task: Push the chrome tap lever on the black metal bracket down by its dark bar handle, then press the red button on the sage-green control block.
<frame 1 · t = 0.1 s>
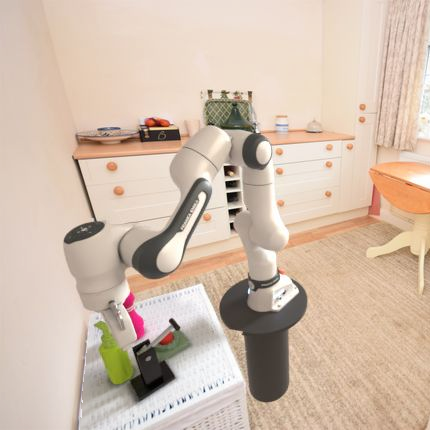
hand: (120, 336, 71), 26 cm above the counter, tool pointing down, fingers open, 8 cm apart
button block: (168, 347, 99), on the counter
pepper mill: (135, 335, 103), on the counter
tap lever: (158, 339, 85), point 14 cm above the counter, hinge at 25.0°
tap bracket: (153, 380, 88), on the counter
button: (166, 338, 97), point 4 cm above the counter, slide at 0.1 cm
soap dispenser: (121, 375, 90), on the counter
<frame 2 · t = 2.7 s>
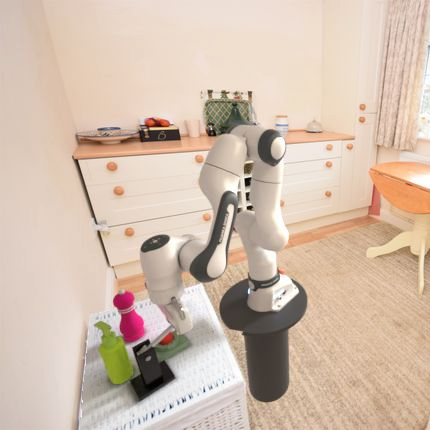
hand: (175, 326, 88), 15 cm above the counter, tool pointing down, fingers closed on tap lever, 5 cm apart
tap lever: (158, 339, 85), point 14 cm above the counter, hinge at 25.0°, touching gripper
everything else where it was.
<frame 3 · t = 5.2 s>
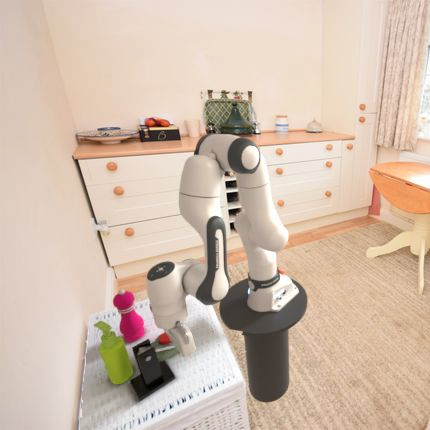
hand: (178, 347, 91), 7 cm above the counter, tool pointing down, fingers closed on tap lever, 5 cm apart
tap lever: (161, 348, 87), point 10 cm above the counter, hinge at -23.2°, touching gripper
everything else where it was.
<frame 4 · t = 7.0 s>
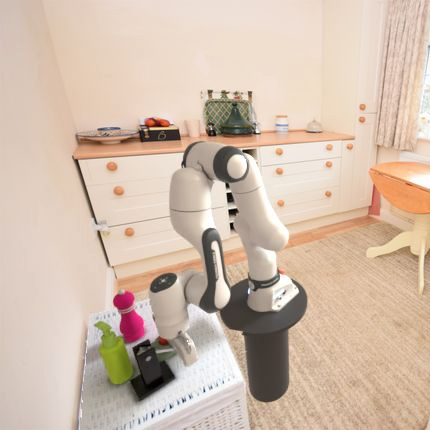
hand: (181, 356, 93), 3 cm above the counter, tool pointing down, fingers open, 7 cm apart
tap lever: (161, 350, 87), point 10 cm above the counter, hinge at -30.8°
everything else where it was.
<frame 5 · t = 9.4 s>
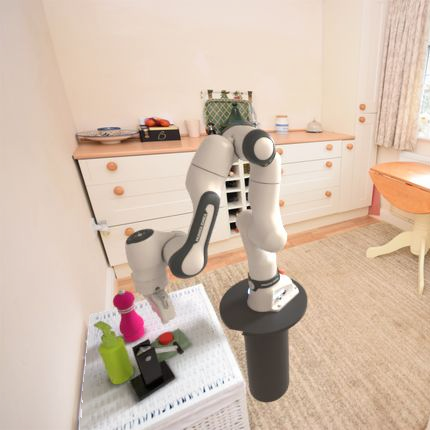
hand: (160, 316, 93), 14 cm above the counter, tool pointing down, fingers open, 6 cm apart
nothing on the counter moved.
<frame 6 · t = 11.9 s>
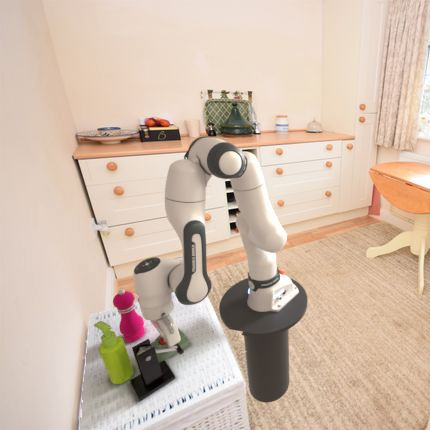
hand: (165, 338, 97), 4 cm above the counter, tool pointing down, fingers closed, pressing on button
button: (166, 340, 98), point 4 cm above the counter, slide at -0.9 cm, touching gripper
everything else where it was.
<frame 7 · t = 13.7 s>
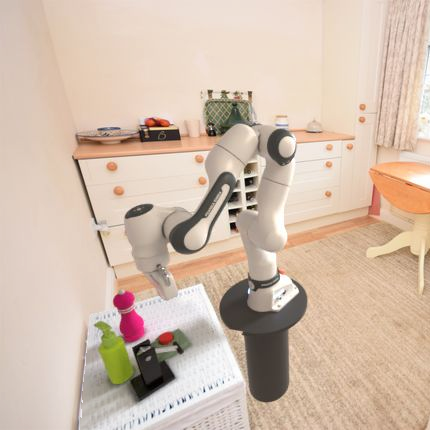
hand: (162, 295, 91), 22 cm above the counter, tool pointing down, fingers closed
button: (166, 338, 97), point 4 cm above the counter, slide at 0.1 cm
everything else where it was.
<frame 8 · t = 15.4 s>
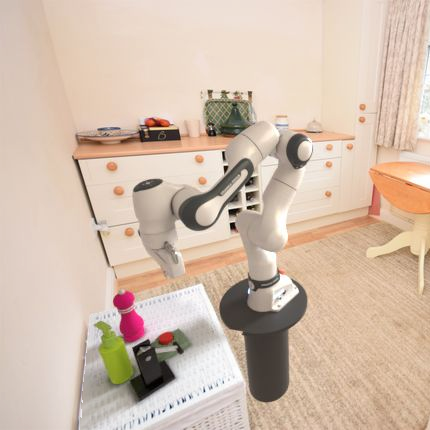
hand: (168, 276, 88), 29 cm above the counter, tool pointing down, fingers closed
nothing on the counter moved.
at the end: tap lever at -31° (first picture: +25°); button pushed in 1.1 cm at the most during the clip, back to where it started at the end; button slide at 0.1 cm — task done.
